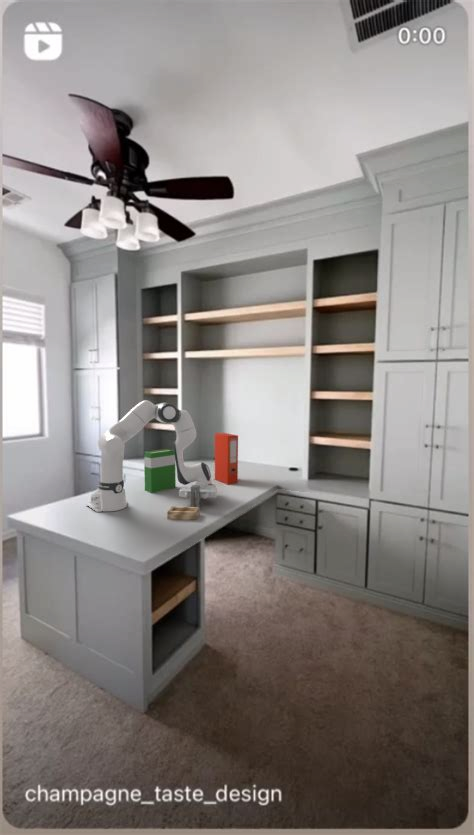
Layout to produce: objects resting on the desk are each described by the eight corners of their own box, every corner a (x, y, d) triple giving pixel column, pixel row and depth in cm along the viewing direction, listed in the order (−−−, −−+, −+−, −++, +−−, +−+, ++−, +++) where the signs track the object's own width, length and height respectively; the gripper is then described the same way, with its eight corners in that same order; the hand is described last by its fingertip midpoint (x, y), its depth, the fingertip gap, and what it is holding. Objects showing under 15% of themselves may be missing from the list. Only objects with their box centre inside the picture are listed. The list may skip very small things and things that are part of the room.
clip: (190, 509, 191) (190, 487, 190) (192, 507, 195) (192, 485, 194) (198, 510, 191) (198, 487, 190) (200, 507, 194) (200, 485, 193)
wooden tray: (167, 518, 178) (167, 511, 178) (172, 513, 186) (171, 506, 186) (196, 519, 177) (196, 512, 176) (199, 514, 185) (199, 507, 184)
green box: (168, 485, 240) (168, 448, 238) (175, 487, 235) (175, 450, 233) (144, 490, 228) (144, 451, 226) (151, 492, 223) (150, 453, 221)
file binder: (224, 477, 261) (224, 432, 259) (237, 483, 246) (238, 435, 244) (214, 479, 257) (214, 433, 254) (227, 484, 242) (227, 436, 240)
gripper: (182, 483, 206) (175, 490, 193) (218, 484, 204) (214, 491, 191) (182, 494, 207) (175, 502, 193) (218, 496, 205) (214, 503, 191)
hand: (195, 496), depth 192 cm, fingers open, 8 cm apart
